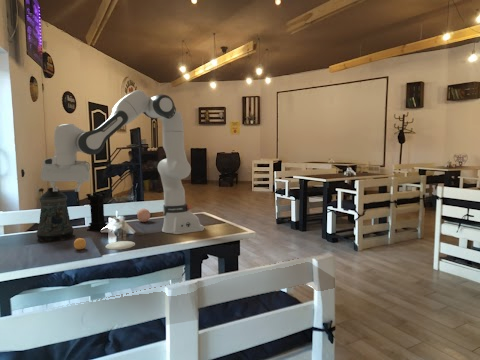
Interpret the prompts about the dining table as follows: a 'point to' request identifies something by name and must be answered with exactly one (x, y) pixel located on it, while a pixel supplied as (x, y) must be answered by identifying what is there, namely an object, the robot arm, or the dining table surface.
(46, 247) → the dining table surface
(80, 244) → the ball
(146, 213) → the toy ball
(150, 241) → the dining table surface
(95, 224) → the chess piece
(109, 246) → the cream disc
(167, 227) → the robot arm
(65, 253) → the dining table surface
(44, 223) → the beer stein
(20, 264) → the dining table surface
